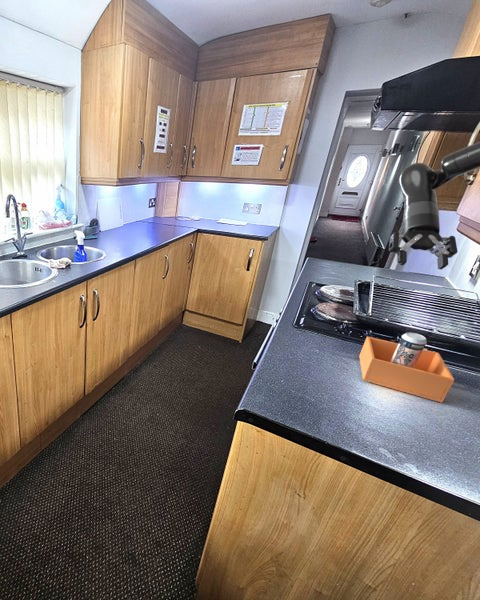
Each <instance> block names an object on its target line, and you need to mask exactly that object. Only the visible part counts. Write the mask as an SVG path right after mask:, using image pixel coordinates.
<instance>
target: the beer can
mask: <svg viewBox="0 0 480 600" xmlns="http://www.w3.org/2000/svg"><path fill="white" fill-rule="evenodd" d="M427 342H428V341H427V338H426V337H425V336H424V335H422V334H419V333H415V332H405V333H404V334H402V335H401V338H400V339H399V341H398V346H397V348H396V351H395V353H394V355H393V357H392V359H391V362H390V363H394V364H398V365H402V366H406V367H410V368H414V367H415V365H416V363H417V361H418V359H419V357H420V355H421V353H422V351H423V349H424V350H425V348H426V345H427V344H428V343H427Z"/></svg>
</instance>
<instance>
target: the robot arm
mask: <svg viewBox="0 0 480 600" xmlns="http://www.w3.org/2000/svg"><path fill="white" fill-rule="evenodd" d="M440 166H441V167H440V168H438V169H436V170H434V169H433V168H432V167H430V165H427V164H426V163H424V162H415V163H411V164H410V165H408V166H406V167H405V168H404V169H403V170H402V171H401V172H400V174H399V178H398V184H399V188H400V191H401V195H402V197H403V199H404V203H403V208H404V210H403V217H402V223H403V226H402V227H403V228H402V229H403V231H402V233H403V234H402V233H400V232H399V231H394V232H393V233H392V234H391V236H389V243H388V252H389V253H395V254H396V258H397V259H396V263H398V264H399V266H405V264H406V263H407V261H408V253H407V251H408V250H409V249H412V250H415V251H416V250H419V251H420V250H421V251H425V252H429V253H430V254H432V255H434V256H435V257H437V259H436V263H437V270H443V269H444V268H446V267H448V266H449V259H451V258H453V257H454V256H455V255H456V254H458V252H459V251H458V246H457V241H456V237H455V236H454V235H450V236H447V237H445V236H444V237H443V236H442V235H440V233H441V232H440V231H441V228H440V227H441V226H440V225H441V224H440V210H439V208H438V198H437V192H436V191H435V190H437V189H439V188H440V187H443V186H444V185H446V184H448V183H450V182H451V181H453V180H454V179H456V178H457V177H459V176H461V175H464V174H467V173H470V172H472V171H473V172H474V171H476V170H478V169H480V141H477V142H475V143H471V144H470V145H467V146H465V147H463V148H461V149H458V150H456V151H454V152H451V153H450V154H449V153H448V154H447V155H445V156H444V157H442V159H441V161H440ZM399 241H403V242H404V243H405V244H404V245H403V246H399ZM434 247H435V248H434Z"/></svg>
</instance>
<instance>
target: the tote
mask: <svg viewBox="0 0 480 600" xmlns="http://www.w3.org/2000/svg"><path fill="white" fill-rule="evenodd" d="M398 344H399V342H398V343H397V342H393V341H389V340H386V339H385V340H384V339H380V338H376V337H373V336H366V338H365V340H364V343H363V346H362V348H361V351H360V353H359V356H358V357H359V363H360V369H361V375H362V380H363V381H365V382H368V383H372V384H375V385H379V386H382V387H387V388H389V389H393V390H396V391H399V392H404V393H407V394H410V395H413V396H417V397H421V398H424V399H427V400H431V401H434V402H438V403H441V404H443V403H444V400H445V398H446V397H447V395H448V394H449V391H450V390H451V388H452V386H453V384H454V382H455V378H454V377H453V374H452V373H451V371H450V370H449V368H448V366H447V365H446V363H445V361H444V360H443V358H442V356H441V354H440V353H439V352H436V351H432V350H428V349H425V348H424V349H423V351H422V353H421V355H420V357H419V359H418V361H417V363H416V365H415V367H414V368H410V367H406V366H402V365H398V364H394V363H390V362H391V359H392V357H393V355H394V353H395V351H396V348H397V346H398Z"/></svg>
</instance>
